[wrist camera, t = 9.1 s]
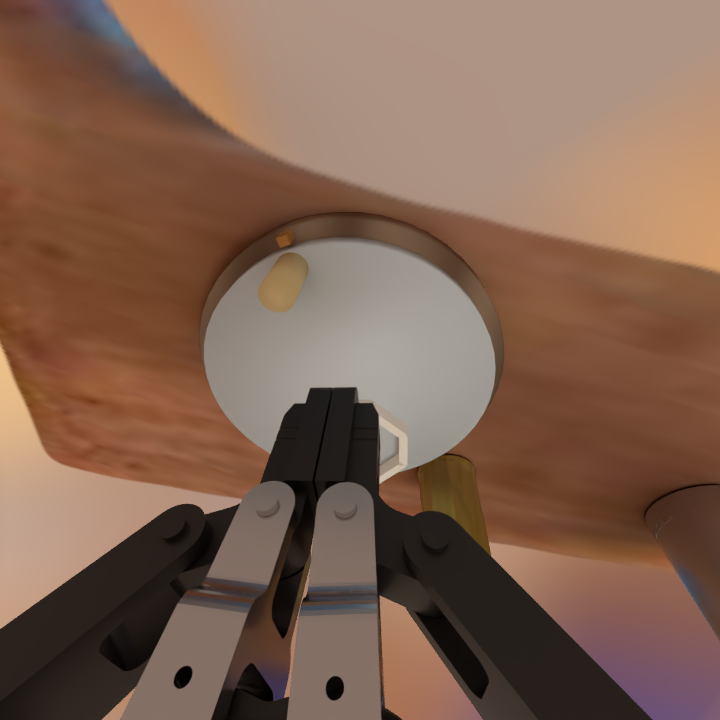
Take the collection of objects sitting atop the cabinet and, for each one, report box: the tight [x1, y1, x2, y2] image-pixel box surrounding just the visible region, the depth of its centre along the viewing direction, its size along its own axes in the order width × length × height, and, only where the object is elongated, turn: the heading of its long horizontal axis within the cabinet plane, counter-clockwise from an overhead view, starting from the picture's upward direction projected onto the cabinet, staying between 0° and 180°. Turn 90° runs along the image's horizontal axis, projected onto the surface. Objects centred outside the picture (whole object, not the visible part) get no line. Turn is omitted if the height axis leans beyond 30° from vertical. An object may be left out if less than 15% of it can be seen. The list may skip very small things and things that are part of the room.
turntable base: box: [200, 212, 504, 410], centre depth 29 cm, size 24×24×3 cm
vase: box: [417, 455, 491, 556], centre depth 33 cm, size 6×6×14 cm
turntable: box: [204, 237, 496, 484], centre depth 27 cm, size 22×22×6 cm
